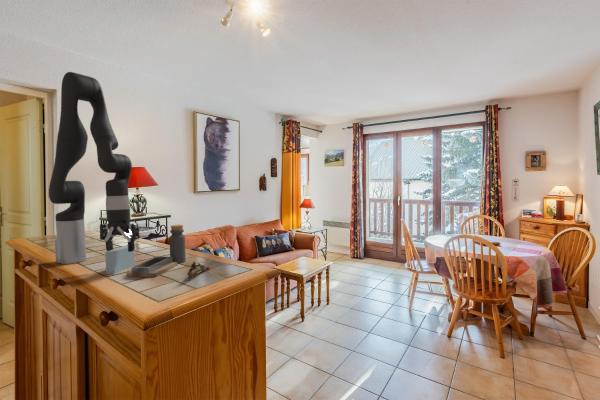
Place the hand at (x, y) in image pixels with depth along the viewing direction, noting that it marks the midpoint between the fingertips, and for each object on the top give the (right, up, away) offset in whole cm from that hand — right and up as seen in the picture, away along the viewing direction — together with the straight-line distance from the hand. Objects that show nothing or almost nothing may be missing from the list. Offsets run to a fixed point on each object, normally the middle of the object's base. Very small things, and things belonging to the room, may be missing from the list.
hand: (120, 251), depth 111 cm
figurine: (+31, -8, -6) cm, 33 cm away
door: (0, -7, +1) cm, 7 cm away
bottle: (+17, -6, +11) cm, 21 cm away
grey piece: (+13, -7, -1) cm, 14 cm away
